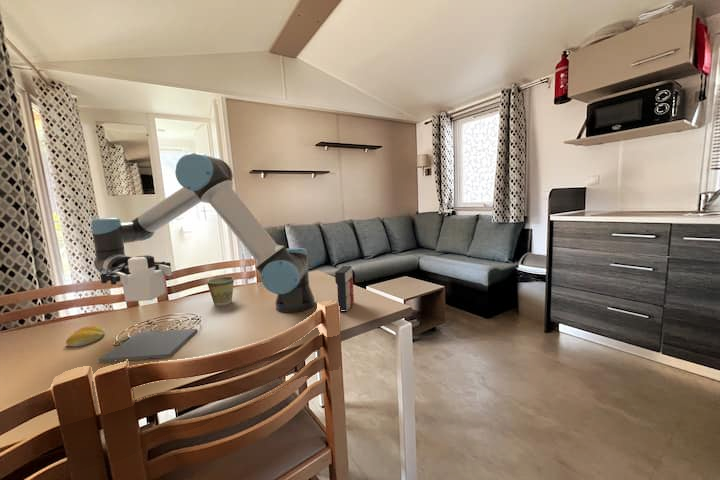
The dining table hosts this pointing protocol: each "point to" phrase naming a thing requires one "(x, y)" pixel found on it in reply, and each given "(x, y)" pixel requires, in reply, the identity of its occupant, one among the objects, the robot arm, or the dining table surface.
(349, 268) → the dark grey box
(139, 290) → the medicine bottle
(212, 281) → the ceramic cup
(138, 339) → the mat
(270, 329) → the dining table surface
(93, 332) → the yellow seashell
